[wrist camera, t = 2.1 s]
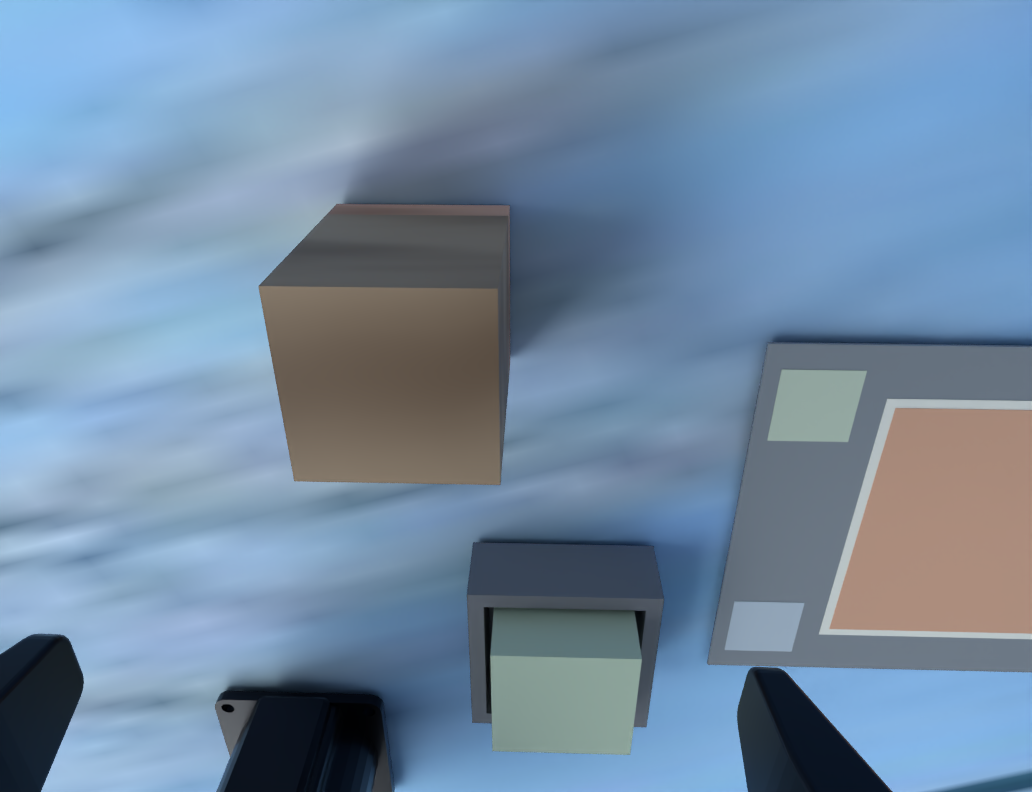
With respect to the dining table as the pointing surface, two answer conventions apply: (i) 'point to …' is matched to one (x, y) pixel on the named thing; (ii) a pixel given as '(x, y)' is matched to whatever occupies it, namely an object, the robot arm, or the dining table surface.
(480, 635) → the button housing
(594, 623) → the button
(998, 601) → the picture mat
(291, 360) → the block
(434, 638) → the dining table surface
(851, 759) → the robot arm
